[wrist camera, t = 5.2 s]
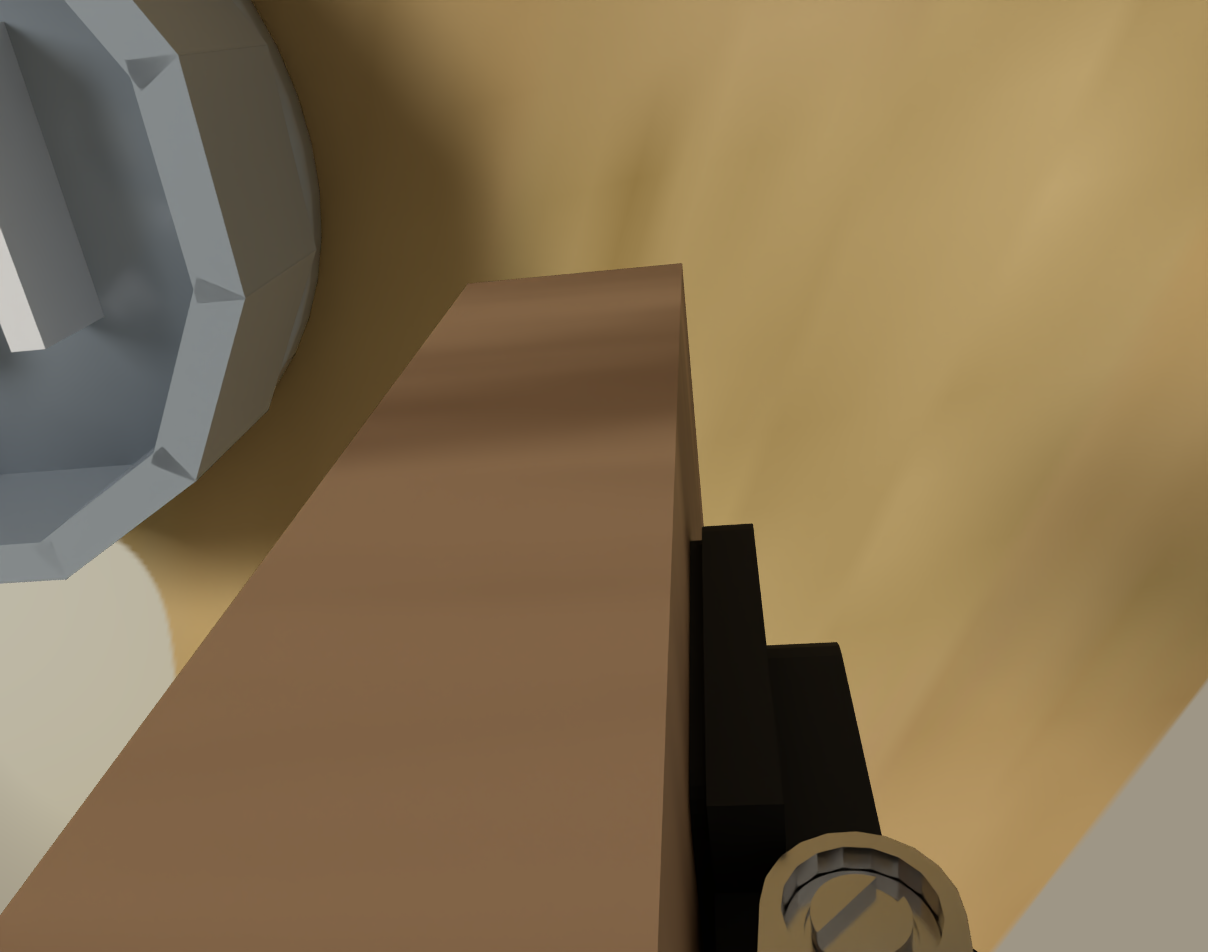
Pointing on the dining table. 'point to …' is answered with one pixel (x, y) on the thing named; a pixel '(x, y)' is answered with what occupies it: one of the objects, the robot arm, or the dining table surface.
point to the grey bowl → (140, 259)
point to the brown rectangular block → (436, 673)
